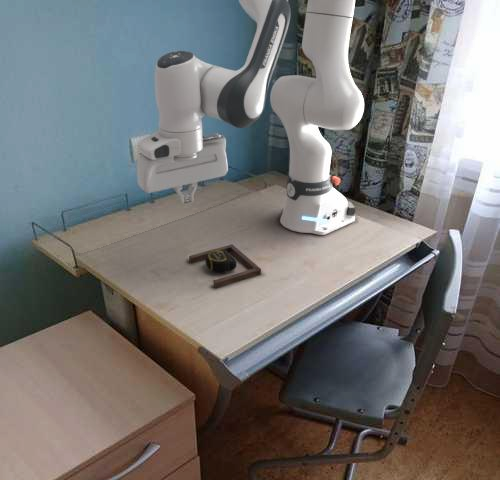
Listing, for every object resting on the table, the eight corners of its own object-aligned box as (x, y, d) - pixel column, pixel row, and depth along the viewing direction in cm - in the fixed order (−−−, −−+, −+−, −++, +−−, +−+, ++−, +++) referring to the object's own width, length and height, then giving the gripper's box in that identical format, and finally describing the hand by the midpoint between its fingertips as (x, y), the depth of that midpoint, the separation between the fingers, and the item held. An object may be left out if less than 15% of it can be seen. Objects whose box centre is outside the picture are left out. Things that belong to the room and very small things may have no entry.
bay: (232, 249, 137) (232, 244, 136) (261, 274, 127) (261, 268, 126) (189, 261, 131) (188, 255, 130) (215, 288, 121) (215, 282, 120)
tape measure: (237, 272, 127) (237, 259, 125) (212, 278, 125) (211, 264, 123) (226, 259, 132) (226, 246, 130) (202, 264, 130) (201, 251, 128)
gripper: (218, 127, 113) (220, 186, 121) (129, 143, 104) (138, 206, 113) (232, 135, 109) (233, 196, 117) (141, 153, 100) (149, 217, 109)
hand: (186, 201), depth 115 cm, fingers closed
